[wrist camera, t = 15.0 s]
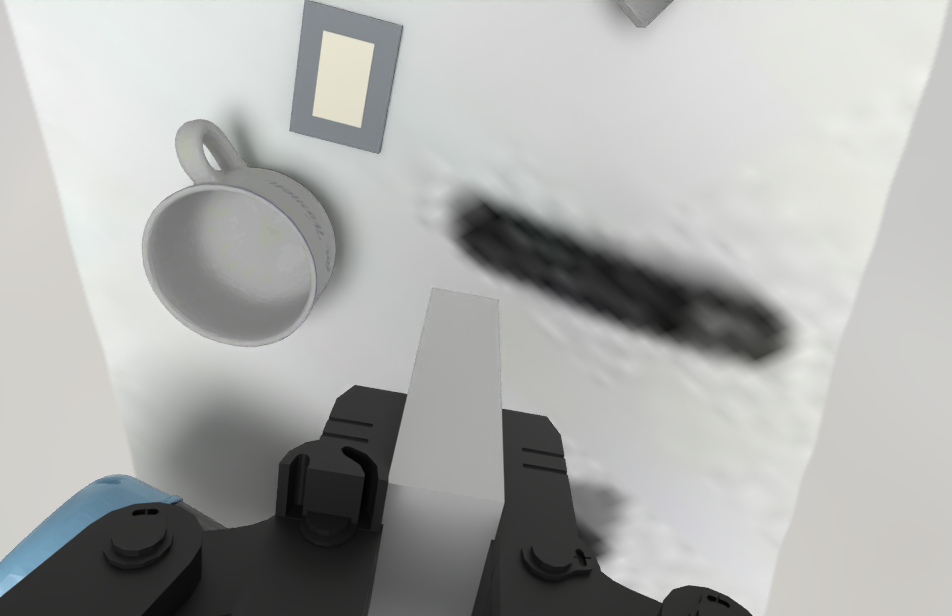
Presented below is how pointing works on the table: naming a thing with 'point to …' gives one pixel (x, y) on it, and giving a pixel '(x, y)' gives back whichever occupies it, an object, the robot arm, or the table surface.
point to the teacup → (236, 246)
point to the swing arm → (643, 10)
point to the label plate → (344, 76)
